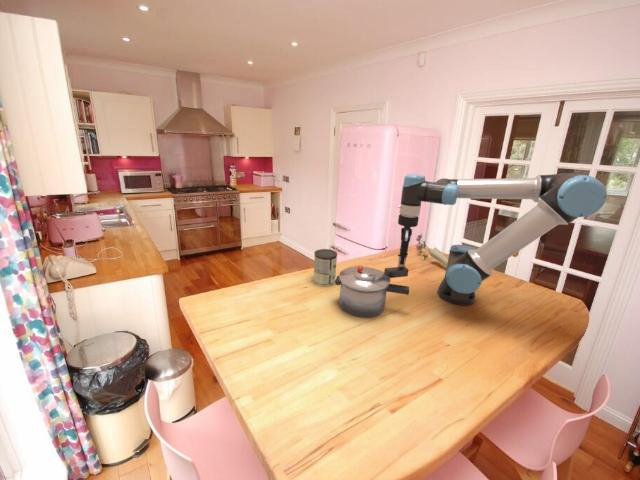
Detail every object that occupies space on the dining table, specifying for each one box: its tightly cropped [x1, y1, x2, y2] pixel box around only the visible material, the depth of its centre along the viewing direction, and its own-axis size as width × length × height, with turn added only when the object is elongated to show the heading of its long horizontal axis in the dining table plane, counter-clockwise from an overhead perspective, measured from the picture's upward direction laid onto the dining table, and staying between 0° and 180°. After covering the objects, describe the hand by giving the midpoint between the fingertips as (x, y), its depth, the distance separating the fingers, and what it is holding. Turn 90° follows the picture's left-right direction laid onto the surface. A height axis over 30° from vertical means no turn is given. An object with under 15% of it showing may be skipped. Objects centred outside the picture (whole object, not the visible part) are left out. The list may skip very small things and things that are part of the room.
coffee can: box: [313, 248, 338, 287], centre depth 136 cm, size 10×10×14 cm
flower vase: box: [415, 234, 448, 268], centre depth 164 cm, size 12×12×35 cm
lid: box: [338, 265, 409, 292], centre depth 117 cm, size 28×20×5 cm
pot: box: [334, 275, 410, 319], centre depth 118 cm, size 28×18×11 cm, turn 77°
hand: (400, 270), depth 124 cm, fingers closed
